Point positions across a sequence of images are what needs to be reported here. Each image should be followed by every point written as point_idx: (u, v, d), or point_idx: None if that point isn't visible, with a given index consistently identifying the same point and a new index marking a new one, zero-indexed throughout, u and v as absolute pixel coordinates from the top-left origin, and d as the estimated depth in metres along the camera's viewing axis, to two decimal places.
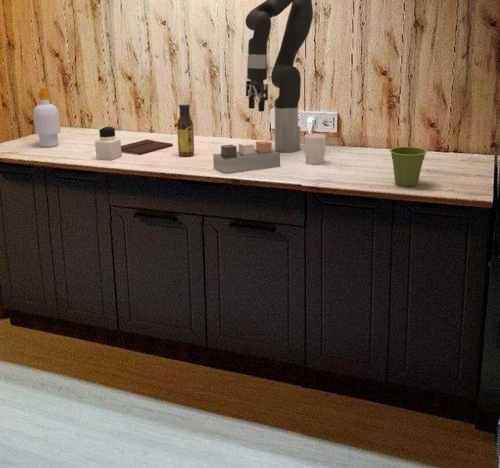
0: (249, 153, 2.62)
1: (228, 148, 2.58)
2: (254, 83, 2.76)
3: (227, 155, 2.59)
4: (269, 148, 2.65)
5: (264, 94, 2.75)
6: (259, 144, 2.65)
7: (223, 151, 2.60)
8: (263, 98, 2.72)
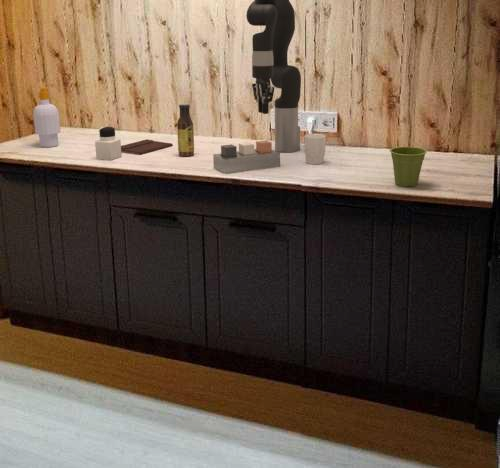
0: (249, 153, 2.62)
1: (228, 148, 2.58)
2: (260, 82, 2.58)
3: (227, 155, 2.59)
4: (269, 148, 2.65)
5: None
6: (259, 144, 2.65)
7: (223, 151, 2.60)
8: (267, 100, 2.57)
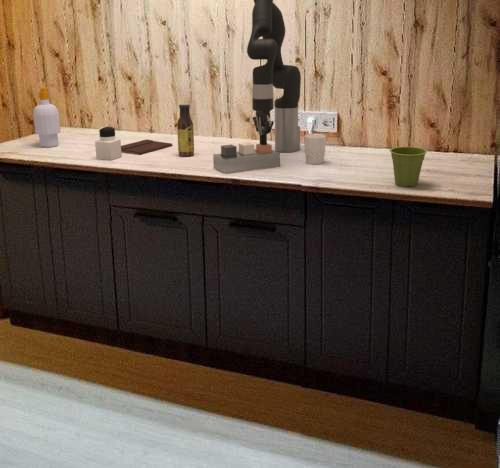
0: (249, 153, 2.62)
1: (228, 148, 2.58)
2: (260, 114, 2.62)
3: (227, 155, 2.59)
4: (269, 150, 2.66)
5: None
6: (259, 147, 2.65)
7: (223, 151, 2.60)
8: (265, 132, 2.62)
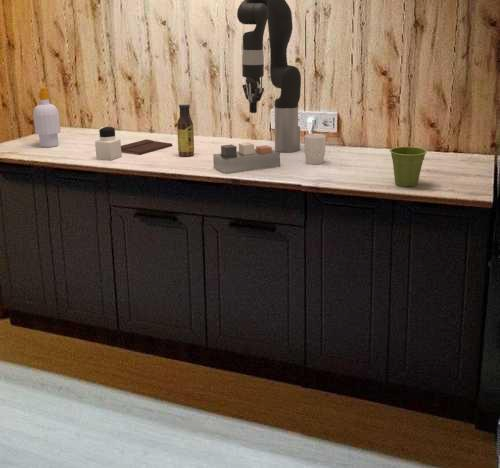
0: (249, 153, 2.62)
1: (228, 148, 2.58)
2: (250, 81, 2.56)
3: (227, 155, 2.59)
4: None
5: None
6: (259, 149, 2.65)
7: (223, 151, 2.60)
8: (255, 100, 2.56)
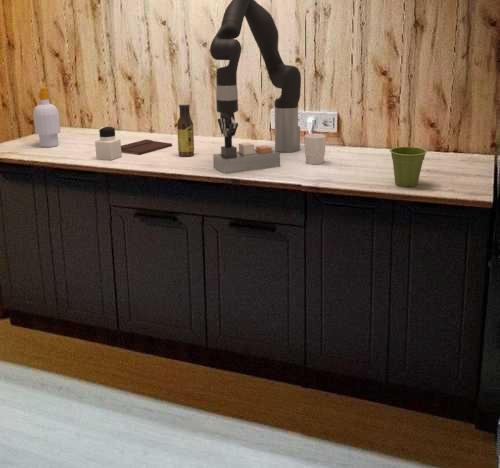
0: (249, 153, 2.62)
1: (228, 149, 2.58)
2: (224, 116, 2.56)
3: (227, 156, 2.59)
4: None
5: None
6: (259, 149, 2.65)
7: (223, 152, 2.60)
8: (230, 135, 2.56)
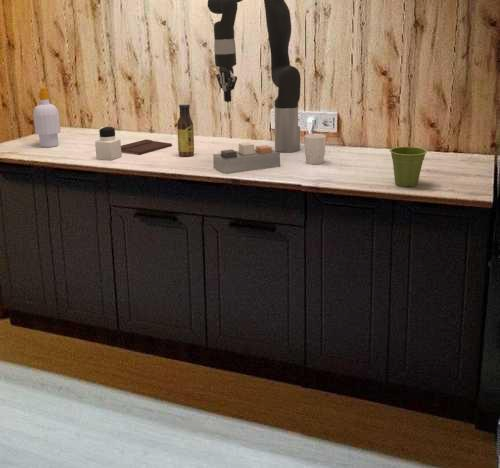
0: (249, 153, 2.62)
1: (228, 153, 2.59)
2: (223, 70, 2.59)
3: None
4: None
5: None
6: (259, 149, 2.65)
7: (223, 156, 2.61)
8: (229, 89, 2.59)
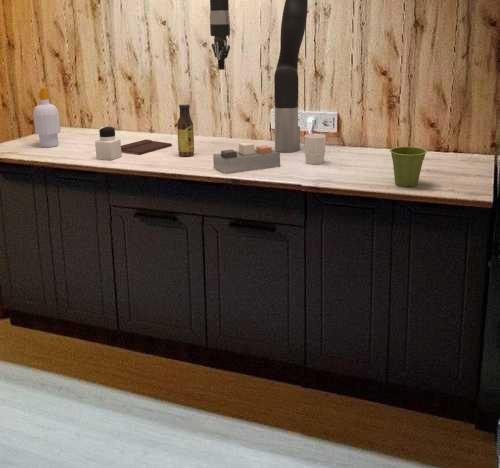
0: (249, 153, 2.62)
1: (228, 153, 2.59)
2: (217, 39, 2.79)
3: None
4: None
5: None
6: (259, 149, 2.65)
7: (223, 156, 2.61)
8: (222, 57, 2.78)
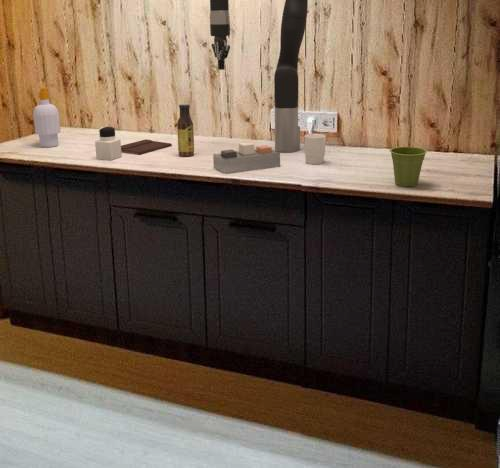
0: (249, 153, 2.62)
1: (228, 153, 2.59)
2: (217, 39, 2.79)
3: None
4: None
5: None
6: (259, 149, 2.65)
7: (223, 156, 2.61)
8: (222, 57, 2.79)
